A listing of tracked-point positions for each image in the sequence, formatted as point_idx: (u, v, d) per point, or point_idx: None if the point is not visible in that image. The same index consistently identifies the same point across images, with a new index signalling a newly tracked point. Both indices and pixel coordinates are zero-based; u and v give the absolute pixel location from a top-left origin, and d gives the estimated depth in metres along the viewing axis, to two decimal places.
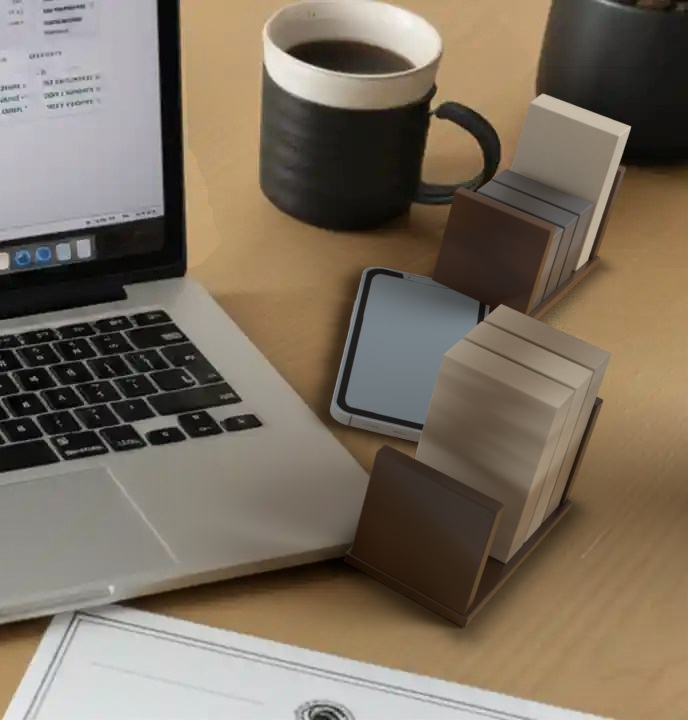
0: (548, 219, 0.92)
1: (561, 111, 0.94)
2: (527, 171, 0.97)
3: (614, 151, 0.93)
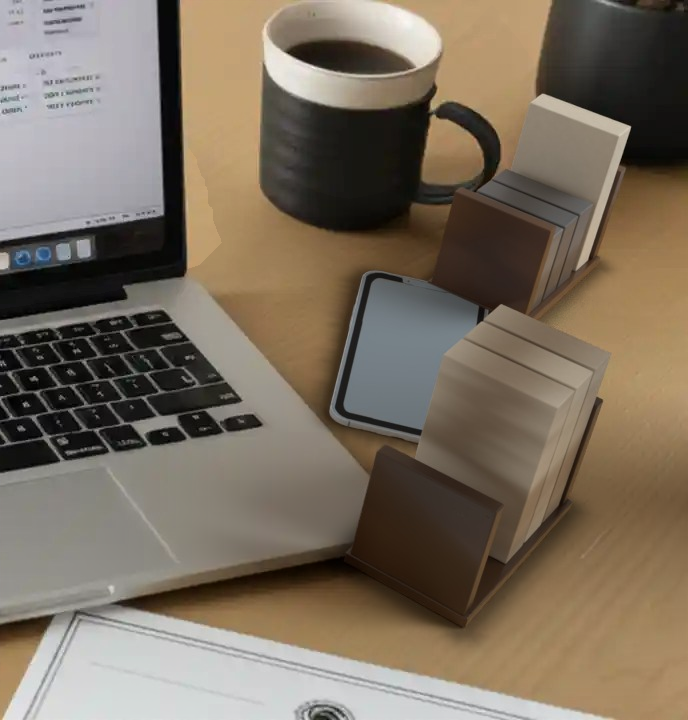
0: (548, 219, 0.92)
1: (561, 111, 0.94)
2: (527, 171, 0.97)
3: (614, 151, 0.93)
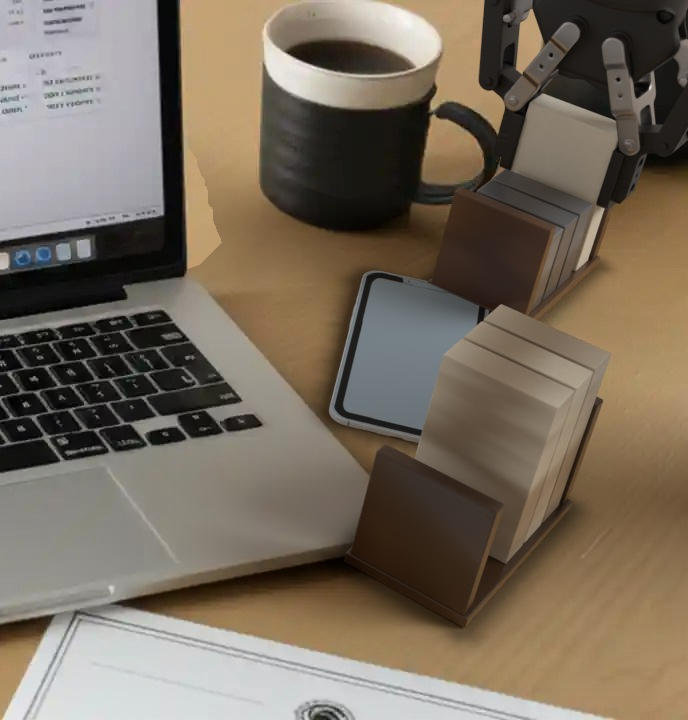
0: (548, 219, 0.92)
1: (562, 111, 0.94)
2: (527, 171, 0.97)
3: None
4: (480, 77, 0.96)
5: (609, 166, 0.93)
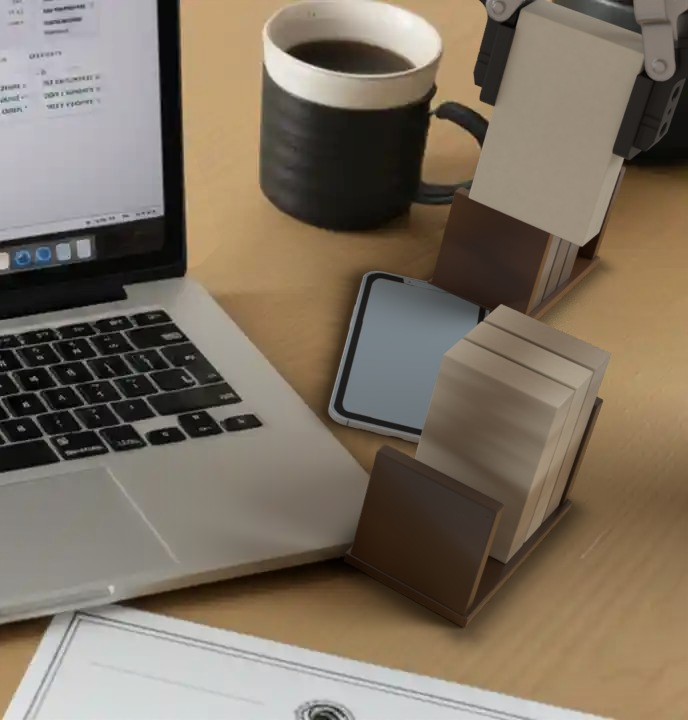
0: None
1: (565, 21, 0.68)
2: (517, 107, 0.70)
3: None
4: None
5: (631, 97, 0.66)
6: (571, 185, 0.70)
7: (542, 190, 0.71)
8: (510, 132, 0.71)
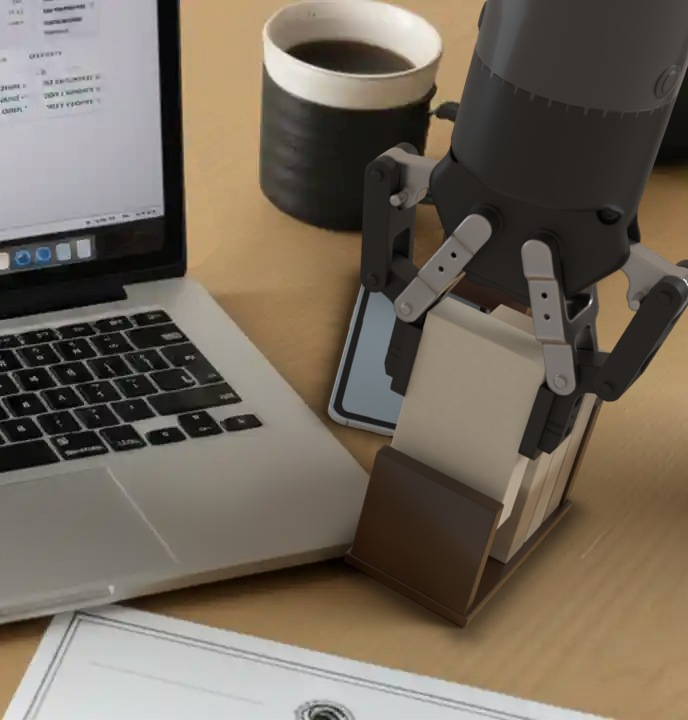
0: None
1: (471, 326, 0.69)
2: (427, 401, 0.71)
3: None
4: (362, 274, 0.70)
5: (534, 406, 0.68)
6: (480, 478, 0.71)
7: None
8: (420, 422, 0.72)
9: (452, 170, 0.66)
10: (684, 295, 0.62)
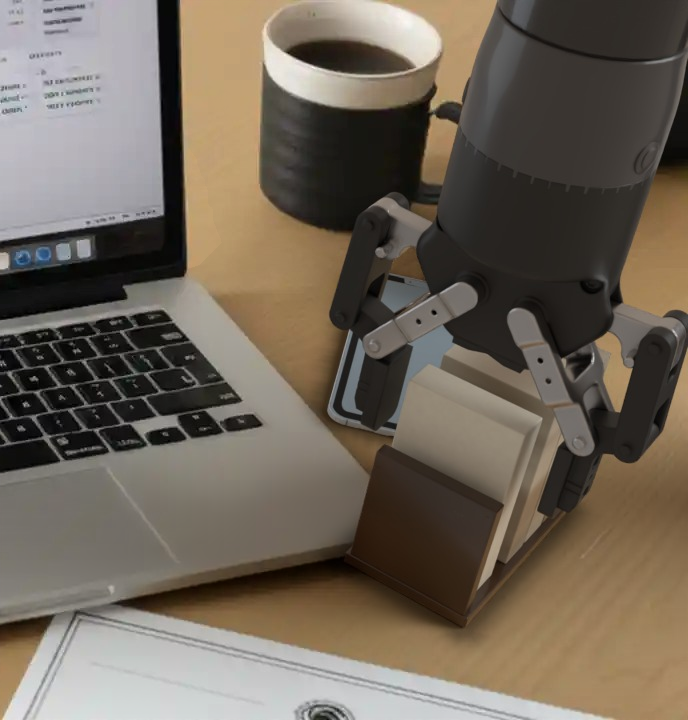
0: None
1: (451, 394, 0.71)
2: None
3: (520, 453, 0.69)
4: (332, 310, 0.72)
5: (553, 466, 0.68)
6: None
7: None
8: None
9: (443, 240, 0.67)
10: (673, 342, 0.63)
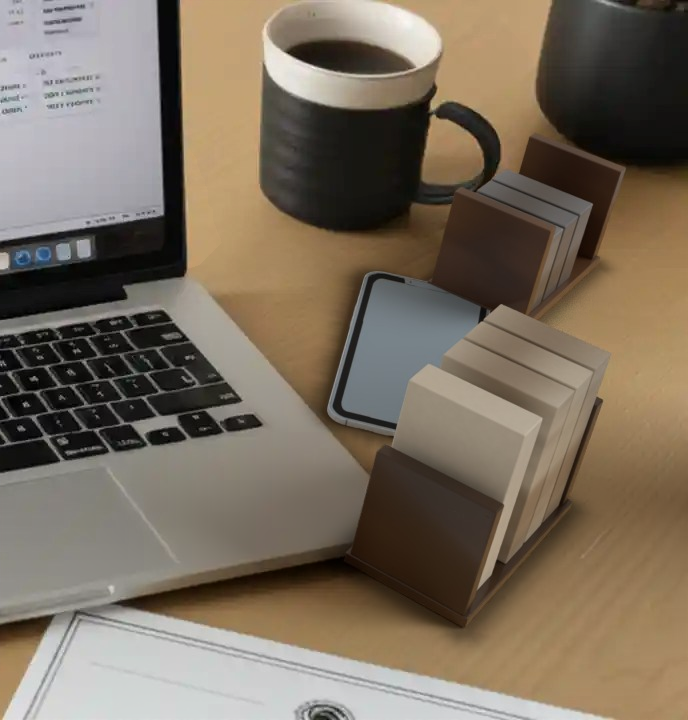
0: (548, 219, 0.92)
1: (451, 394, 0.71)
2: None
3: (520, 453, 0.69)
4: None
5: None
6: None
7: None
8: None
9: None
10: None
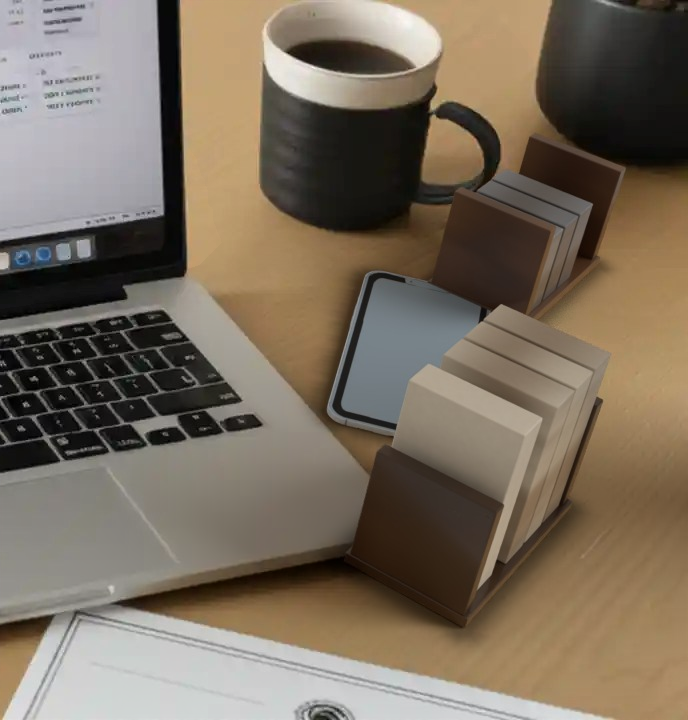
0: (548, 219, 0.92)
1: (451, 394, 0.71)
2: None
3: (520, 453, 0.69)
4: None
5: None
6: None
7: None
8: None
9: None
10: None
